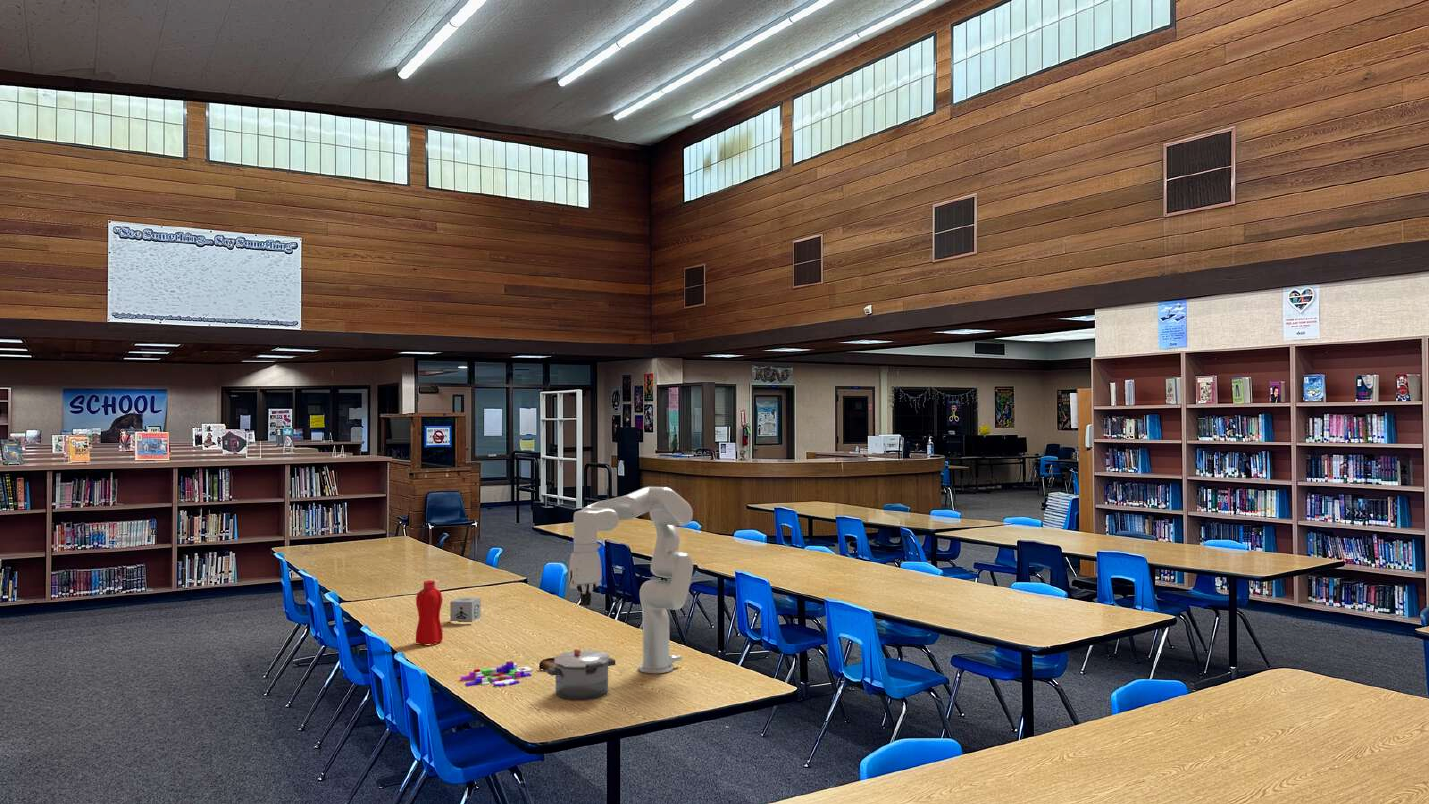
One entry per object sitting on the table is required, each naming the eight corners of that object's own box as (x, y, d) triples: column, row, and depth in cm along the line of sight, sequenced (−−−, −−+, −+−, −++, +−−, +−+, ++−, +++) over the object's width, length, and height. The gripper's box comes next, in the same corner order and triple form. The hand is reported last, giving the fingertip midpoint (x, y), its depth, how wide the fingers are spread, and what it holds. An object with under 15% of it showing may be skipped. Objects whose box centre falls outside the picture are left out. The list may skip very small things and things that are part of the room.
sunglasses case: (554, 673, 318) (548, 655, 320) (543, 680, 321) (536, 663, 323) (591, 662, 332) (585, 645, 334) (580, 669, 335) (573, 653, 338)
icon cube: (459, 619, 408) (459, 597, 409) (480, 620, 407) (480, 597, 407) (450, 624, 398) (450, 601, 399) (471, 624, 397) (471, 602, 397)
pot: (600, 680, 308) (600, 651, 308) (624, 693, 293) (624, 662, 294) (538, 691, 296) (538, 661, 296) (560, 705, 281) (560, 673, 281)
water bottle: (409, 645, 360) (409, 582, 360) (427, 639, 370) (427, 578, 370) (427, 647, 356) (428, 584, 357) (446, 641, 366) (446, 579, 367)
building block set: (474, 693, 297) (474, 679, 297) (456, 678, 314) (456, 665, 315) (546, 681, 310) (545, 668, 310) (524, 667, 328) (524, 655, 328)
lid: (594, 651, 307) (594, 643, 307) (621, 663, 290) (621, 655, 290) (546, 659, 297) (546, 650, 297) (570, 672, 281) (570, 663, 281)
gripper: (601, 545, 300) (601, 600, 300) (559, 549, 292) (559, 606, 292) (611, 547, 294) (611, 604, 294) (568, 551, 286) (569, 610, 285)
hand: (585, 605), depth 293 cm, fingers closed
